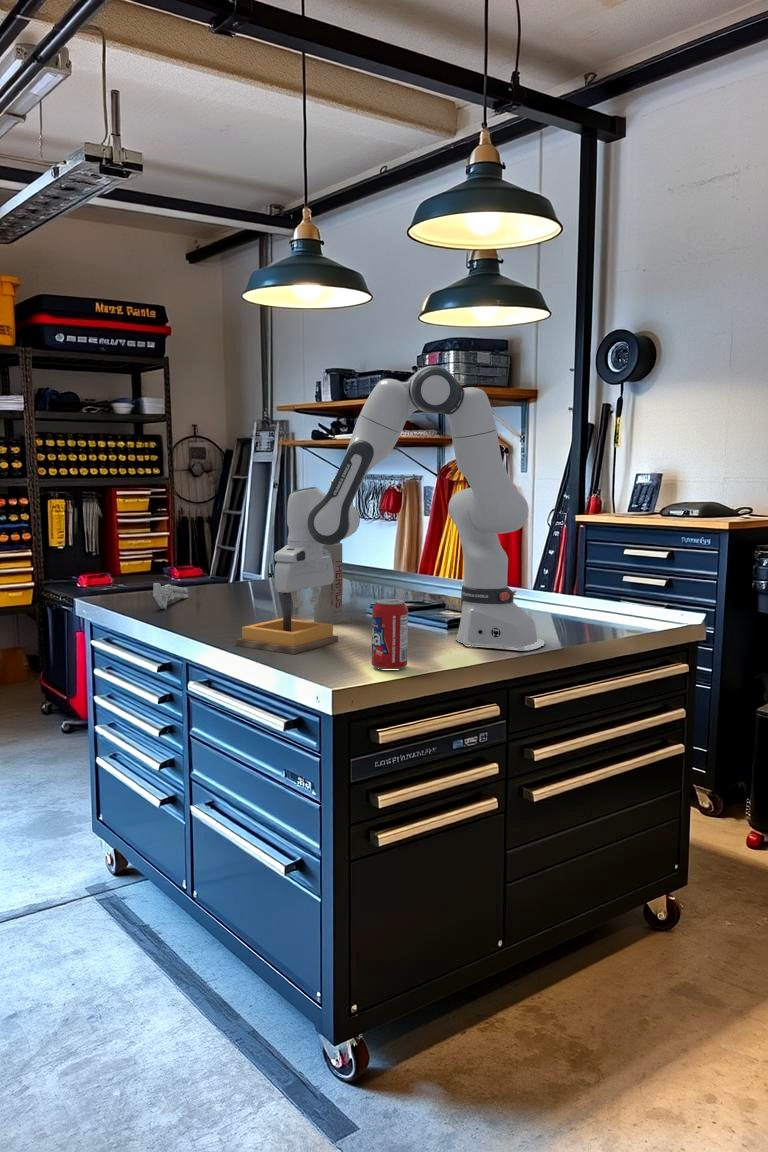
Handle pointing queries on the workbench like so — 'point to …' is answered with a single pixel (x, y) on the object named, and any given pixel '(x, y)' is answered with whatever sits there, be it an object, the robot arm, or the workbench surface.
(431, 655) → the workbench surface
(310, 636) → the loop
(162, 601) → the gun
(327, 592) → the thermos bottle
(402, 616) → the soda can
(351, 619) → the workbench surface
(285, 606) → the wooden peg stand
